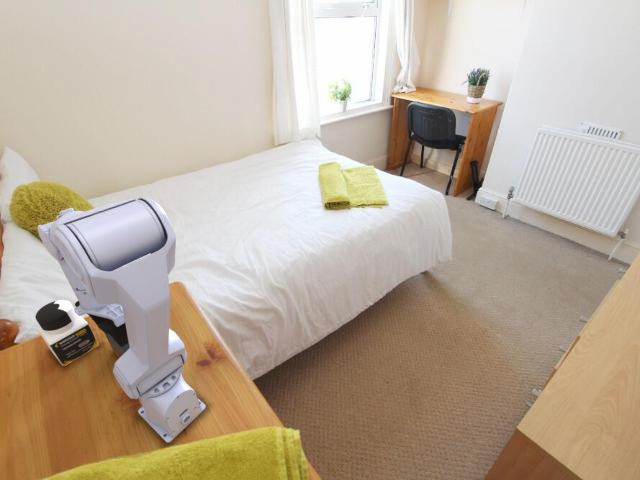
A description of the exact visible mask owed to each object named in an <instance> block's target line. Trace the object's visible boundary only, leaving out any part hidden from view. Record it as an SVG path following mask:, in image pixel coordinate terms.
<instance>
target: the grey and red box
mask: <svg viewBox="0 0 640 480" xmlns="http://www.w3.org/2000/svg"><path fill="white" fill-rule="evenodd" d="M103 333H104V335H105V337H106V339H107V341H108V344H109V346H110V347H111V349H112V351H113V353H114V354H115V356H117V357H118V359H119V358H120V357H121V356H122V355H123V354H124V353H125V352H126V351H127V350H128V349H129V348H130V346H129V343H128V344H126V345H125V346H123V347H121V346H120V345H118V344H117V343H116V341H115V340H114V339H113V338H112V336H111V335H109V334H107V333H105V332H103Z"/></svg>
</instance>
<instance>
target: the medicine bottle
mask: <svg viewBox="0 0 640 480" xmlns="http://www.w3.org/2000/svg"><path fill="white" fill-rule="evenodd" d="M74 309H75V308H74V306H73V305H72V302H70V301H69V300H66V299H65V300H64V299H59V300H53V301H51V302H49V303H46V304H45V305H43V306H42V307H41V308H39V309H38V311H37V312H36V313H35V320H36V322H37V323H38V325H39V326H38V327H37V328H36V331H37V332H38V333H39V335H40V337H41V338H42V340H43V341H44V343H45V344H46V346H47V347H48V349H49V350H50V352H51V353H52V354H53V356H54V357H55V358H56V360H57V361H58V362H59V364H61V366H62V367H67V366H68V365H70V364H72V363H73V362H75V361H77V360H78V359H80V358H82V357H83V356H85V355H87V354H88V353H90V352H91V351H93V350H94V349H96V348H98V347H99V346H100V343H99V341H98V339H97V337H96V336H95V334H94V332H93V330H92V328H91V326H90V324H89V322H88V321H86V319H85V318H84V317H83V315H82V316H78V315H77V314H76V313H75V311H74Z"/></svg>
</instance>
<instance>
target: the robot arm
mask: <svg viewBox="0 0 640 480" xmlns="http://www.w3.org/2000/svg"><path fill="white" fill-rule="evenodd" d="M58 214H59V215H57V216H56V217H55V219H56V220H54V221H51V222H47V223H44V224H38V225H37V232H38V235H39V238H40V240H41V242H42V243H43V246H44V247H45V249H46V250H47V251H48V253H49V254H50V255H51V256H52V257H53V259H55V260H57V262H58V264H59V266H60V269H61V270H62V272H63V274H64V276H65V278H66V279H67V282H68V284H69V285H70V287H71V289H72V292H73V293H74V295H75V297H76V299H77V301H75V303H74V306H75V308H74V311H75V313H76V314H77V315H78V316H82V317H83V316H84V315H85V314H86V315H88V317H90V319H91V320H92V321H93V322H94V323H95V324H96V325H97V328H98V329H99V330H101V332H103V333H104V332H105V333H107V334H109V335H111V336H112V338H113V339H114V340H115V341H116V343H117V344H118V345H120V346H121V347H123V346H125V345H126V344H128V343H129V346H130V348H129V349H128V350H127V351H126V352H125V353H124V354H123V355H122V356H121V357H120V358H119V357H118V358H117V360H116V361H115V362H114V365H113V369H112V373H113V375H114V378H115V379H116V382H117V383H118V384H119V386H120V388H121V389H122V390H123V392H124V393H125V394H126V395H127V397H128V398H129V399H130V400H139V402H140V403H141V405H142V406H141V407H140V408H139V409H138V410H137V413H138V415H139V416H140V417H141V418H142V419H143V420H144V421H145V422H146V423H147V424H148V425H149V426H150V427H151V428H152V430H154V431H155V432H156V433H157V434H158V435H159V436H160V437H161V439H162V440H163V441H164V442H165V443H166V444H169V443H172V441H173V440H174V439H176V437H178V435H180V434H181V433H182V432H183V431H184V430H185V429H186V428H187V427H188V426H189V425H190V424H191V423H192V422H193V421H194V420H195V419H197V417H198V416H200V415H201V414H202V412H204V411H205V410H206V408H207V406H206V404H205V403H204V402H203V401H202V400H200V399H199V398H198V395H197V392H196V391H195V390H194V389H193V388H192V387H191V385H189V384H188V383H187V382H186V380H185V379H184V377H183V372H184V371H185V370H184V369H185V368H184V365H186V364H187V363H188V353H187V350H186V347H185V343H184V342H183V341H182V339H181V338H180V337H179V336H178V334H177V333H176V332H175V331H174V330H173V329H171V328H170V320H171V319H170V318H171V317H170V316H171V312H170V311H171V290H170V281H169V280H170V279H169V275H170V273H171V272H172V270H173V269H174V267H175V265H176V246H177V236H176V233H175V230H174V228H173V226H172V224H171V221H170V219H169V217H168V216H167V213H166V212H165V210H164V209H163V207H162V206H161V205H160V204H159V203H158V202H157V201H155V200H153V199H152V198H150V197H149V196H141V197H138V199H136V198H129V199H125V200H120V201H116V202H112V203H107V204H103V205H100V206H98V207H94V208H91V209H89V210H86V211H85V210H84V211H83V210H75V209H74V208H73V207H69V208H66V209H63V210H60V211H59V212H58ZM105 333H104V334H105Z"/></svg>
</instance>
